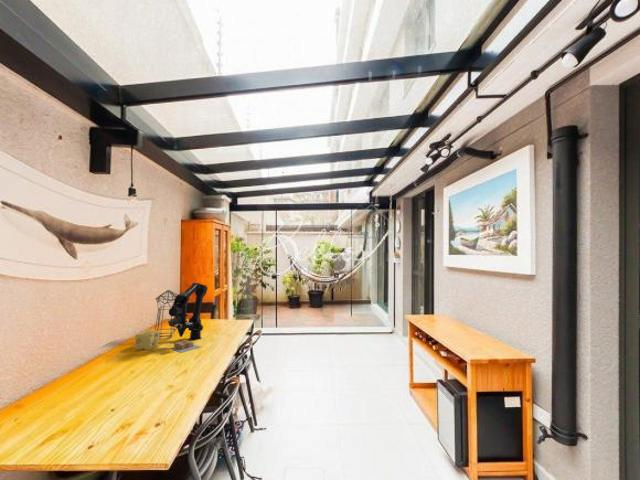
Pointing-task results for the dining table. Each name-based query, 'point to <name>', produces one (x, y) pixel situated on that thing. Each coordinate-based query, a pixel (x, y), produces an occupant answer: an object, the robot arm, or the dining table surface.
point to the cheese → (146, 340)
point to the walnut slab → (183, 344)
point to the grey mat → (186, 349)
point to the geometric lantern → (165, 309)
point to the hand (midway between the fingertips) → (180, 336)
